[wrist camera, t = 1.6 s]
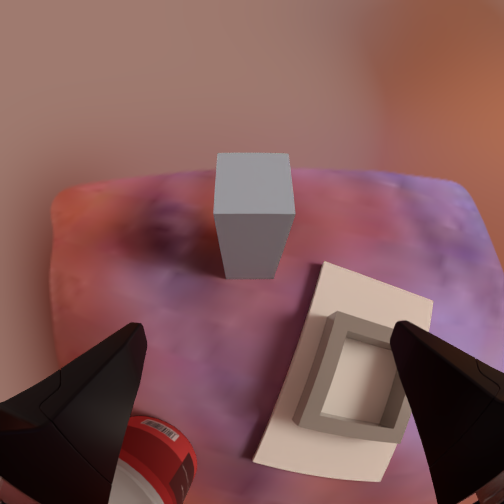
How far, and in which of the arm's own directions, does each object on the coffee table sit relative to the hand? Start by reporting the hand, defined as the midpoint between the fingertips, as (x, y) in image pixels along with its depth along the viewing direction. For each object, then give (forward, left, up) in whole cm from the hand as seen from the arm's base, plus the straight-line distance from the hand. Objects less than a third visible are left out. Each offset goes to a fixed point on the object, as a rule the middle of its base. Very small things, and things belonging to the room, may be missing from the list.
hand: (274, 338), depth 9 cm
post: (+6, +6, -13) cm, 16 cm away
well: (+3, -8, -13) cm, 16 cm away
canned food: (-13, +1, -14) cm, 19 cm away
